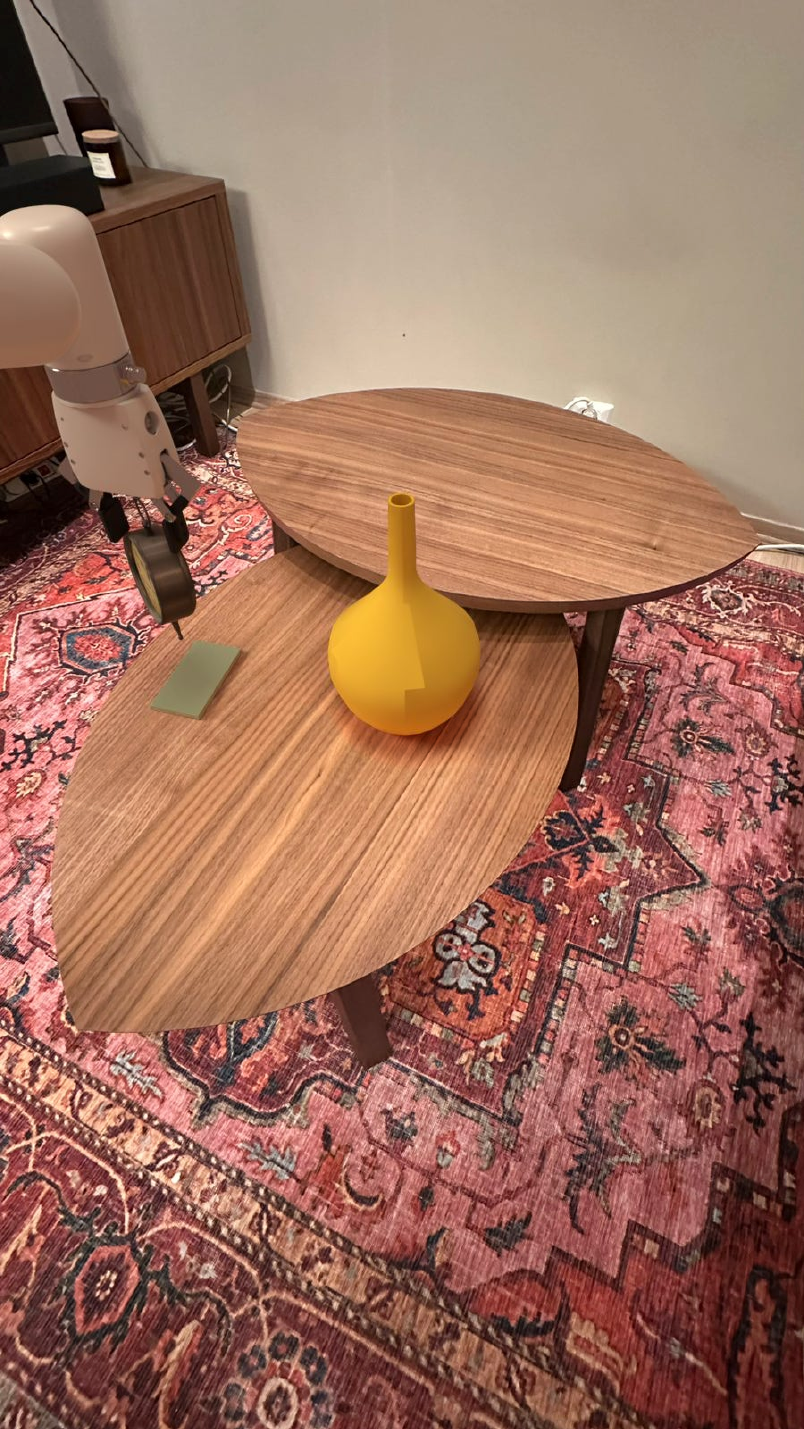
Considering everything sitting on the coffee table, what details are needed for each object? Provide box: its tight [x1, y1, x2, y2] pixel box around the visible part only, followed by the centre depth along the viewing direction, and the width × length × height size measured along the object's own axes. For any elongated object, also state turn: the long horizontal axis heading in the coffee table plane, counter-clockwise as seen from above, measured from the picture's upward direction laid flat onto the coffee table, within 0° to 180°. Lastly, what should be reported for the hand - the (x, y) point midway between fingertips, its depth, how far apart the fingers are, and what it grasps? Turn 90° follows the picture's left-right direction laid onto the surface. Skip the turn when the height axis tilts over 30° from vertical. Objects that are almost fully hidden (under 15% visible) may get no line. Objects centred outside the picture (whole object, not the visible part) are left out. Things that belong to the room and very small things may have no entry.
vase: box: [326, 492, 482, 736], centre depth 78 cm, size 18×18×30 cm
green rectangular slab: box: [149, 639, 243, 721], centre depth 92 cm, size 13×7×1 cm, turn 164°
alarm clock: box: [122, 496, 198, 641], centre depth 78 cm, size 11×5×16 cm, turn 34°
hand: (150, 540), depth 76 cm, fingers closed on alarm clock, 6 cm apart
